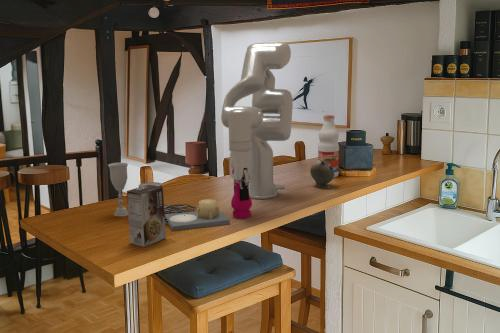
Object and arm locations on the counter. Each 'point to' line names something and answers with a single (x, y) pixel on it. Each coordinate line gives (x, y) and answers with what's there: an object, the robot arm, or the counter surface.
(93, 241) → the counter surface
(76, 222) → the counter surface
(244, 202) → the pepper mill
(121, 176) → the chalice
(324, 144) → the fruit juice
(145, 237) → the coffee box
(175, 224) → the plate
